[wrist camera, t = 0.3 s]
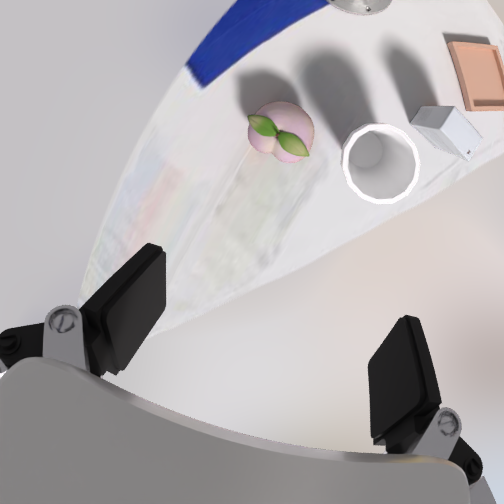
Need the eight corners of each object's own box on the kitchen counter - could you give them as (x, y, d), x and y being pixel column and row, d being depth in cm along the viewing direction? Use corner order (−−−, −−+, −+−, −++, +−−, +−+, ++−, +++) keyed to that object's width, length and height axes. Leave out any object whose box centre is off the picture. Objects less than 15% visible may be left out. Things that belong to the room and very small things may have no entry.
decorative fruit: (324, 118, 37) (327, 119, 29) (302, 163, 41) (299, 178, 33) (268, 93, 37) (254, 88, 28) (248, 139, 41) (230, 147, 33)
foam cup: (354, 108, 35) (370, 107, 24) (402, 142, 36) (433, 156, 25) (323, 157, 40) (327, 176, 29) (371, 188, 41) (390, 219, 30)
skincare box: (447, 129, 32) (484, 139, 22) (434, 147, 34) (469, 163, 24) (421, 104, 32) (454, 105, 21) (408, 123, 34) (438, 129, 24)
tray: (446, 43, 24) (451, 41, 23) (491, 47, 21) (497, 46, 19) (466, 110, 29) (471, 111, 28) (508, 109, 26) (514, 110, 24)
